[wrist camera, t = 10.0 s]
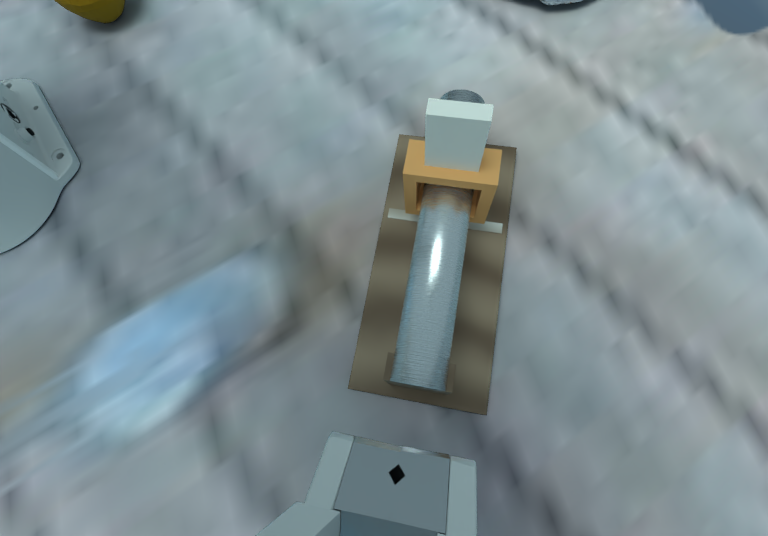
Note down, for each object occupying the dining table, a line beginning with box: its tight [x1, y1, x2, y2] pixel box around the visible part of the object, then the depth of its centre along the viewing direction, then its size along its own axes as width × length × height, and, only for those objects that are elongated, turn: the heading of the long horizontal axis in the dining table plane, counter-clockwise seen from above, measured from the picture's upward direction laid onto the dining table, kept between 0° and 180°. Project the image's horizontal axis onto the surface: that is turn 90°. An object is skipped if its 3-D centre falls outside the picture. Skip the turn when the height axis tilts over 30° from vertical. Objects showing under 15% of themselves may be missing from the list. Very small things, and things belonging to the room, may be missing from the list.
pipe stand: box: [348, 134, 516, 415], centre depth 38 cm, size 26×12×8 cm, turn 169°
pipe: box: [390, 90, 485, 392], centre depth 34 cm, size 24×4×4 cm, turn 169°
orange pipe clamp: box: [403, 98, 502, 224], centre depth 33 cm, size 3×7×13 cm, turn 79°
